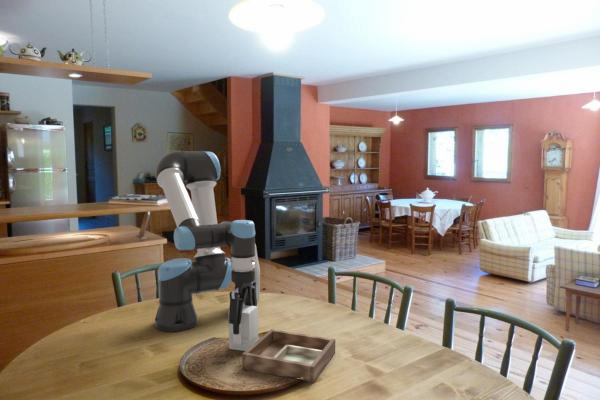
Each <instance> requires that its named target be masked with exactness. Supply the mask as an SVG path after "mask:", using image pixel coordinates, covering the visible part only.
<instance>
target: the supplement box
mask: <svg viewBox="0 0 600 400" xmlns="http://www.w3.org/2000/svg"><path fill="white" fill-rule="evenodd" d="M258 310H259V308H258V305H257V306H248V305H243V310H242V315H241V321H240V323H242V344H236V343H233V324H229V323H228V347H229V350H235V351H241V352H245V351H246V350H247V349H249V348H250V347H251V346H252V345H253V344H254V343H256V342H257V341H258V340H259V311H258ZM227 312H228V315H227V316H229V310H228V311H227Z"/></svg>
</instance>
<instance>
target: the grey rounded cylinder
mask: <svg viewBox="0 0 600 400" xmlns="http://www.w3.org/2000/svg"><path fill="white" fill-rule="evenodd" d="M255 260H256V262H255V268H254V270H255V281H254V282H256V298H257V305H258V303H259V301H260V297H261V295H260V294H261V268H260V263H259V262H260V261H259V257H258V250H257V245H256V243H255ZM241 300H242V299H241ZM243 305H245V303H244V304H243Z"/></svg>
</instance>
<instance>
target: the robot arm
mask: <svg viewBox="0 0 600 400" xmlns="http://www.w3.org/2000/svg"><path fill="white" fill-rule="evenodd" d="M156 164H157V165H156V167H155V171H154V173H155V174H154V175H155V180H156V183H157V185H158V186H159V187H160V188H162V191H163V193H164V196H165V199H166V201H167V204H168V206H169V207H168V208H169V209H170V211H171V214H172V217H173V219H174V222H175V225H176V227H175V229H174V232H173V241H174V245H175V249H177V250H178V251H193V250H196V251H197V252H196V254H195V255H194V256H193V259H194V261H192V259H191V258H189V257H188V258H187V257H183V258H181V257H180V258H173V259H170V260H167V261H165V262H163V263H161V265H160V266H159V267H158V275H157V279H158V302H159V303H158V304H159V305H158V308H157V311H156V315H155V318H154V328H155V329H157V330H159V331H163V332H171V333H172V332H181V331H186V330H190V329H192V328H194V327H195V326H196V325H197V324H198V321H199V320H198V319H199V318H198V314H197V311H196V309H195V305H194V303H193V294H195V295H196V294H201V293H208V292H214V291H219V290H224V289H227V288H228V287H229V286H230V284H231V282H232V283H233V284H234V291H230V292H229V310H228V311H229V315H228V325H229V324H233V343H236V344H242V323H240V321H241V315H242V310H243V304H244V303H245V305H248V306H258V304H257V298H256V282H254V281H255V270H254V268H255V262H256V260H255V244H256V228H255V223H254V221H253V220H250V219H249V220H247V219H236V220H233V221H222V222H221V223H218V219H217V216H218V215H217V210H216V209H217V208H216V201H215V192H214V188H215V186H217V181H219V180H220V178H221V164H220V161H219V158H218V156H217V155H216V154H215V153H214V152H212V151H205V150H200V151H199V150H197V151H196V150H195V151H194V150H193V151H191V150H189V151H188V150H185V151H184V150H183V151H181V150H174V151H169V152H168V153H166V154H165V155H163V156H162V157H161V158H160V160H159V161H158V163H156ZM187 189H189V191H190V194H189V192H188V190H187ZM190 195H191V198H190ZM221 247H230V256H231V257H230V258H229V257H226V252H225V251H223V250H222V249H221ZM241 299H242V300H241Z"/></svg>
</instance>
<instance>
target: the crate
mask: <svg viewBox="0 0 600 400" xmlns="http://www.w3.org/2000/svg"><path fill="white" fill-rule="evenodd" d="M335 354H336V338H329V337H323V336H318V335H310V334H304V333H297V332H292V331H291V332H290V331H285V330H279V329H269V330H268V331H267V332H266V333H265V334H264V335H263V336H261V337H260V338H258V341H257V342H256V343H254V344H253V345H252V346H251V347H250V348H249V349H247V350H246V351H243V352H242V355H241V362H242V365H241V367H242V368H241V369H242V370H248V371H252V372H257V373H262V374H267V375H273V376H278V377H283V378H287V377H289V379H292V378H301V377H303V378H304V380H303V382H309V383H313V384H314V383H315V382H316V381H317V380H318V378H319V377H320V375H321V374H322V373H323V371H325V368H326V367H327V365H328V364H329V362H331V360H332V359H333V357H334V356H335Z"/></svg>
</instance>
